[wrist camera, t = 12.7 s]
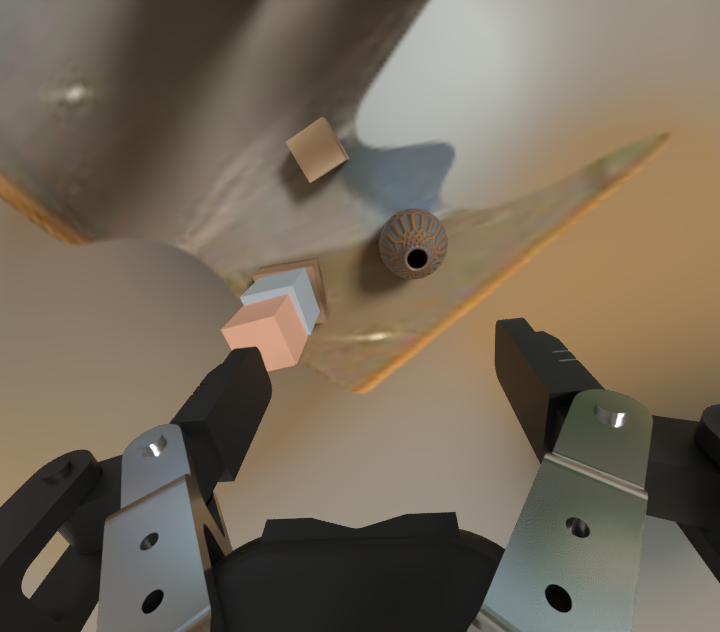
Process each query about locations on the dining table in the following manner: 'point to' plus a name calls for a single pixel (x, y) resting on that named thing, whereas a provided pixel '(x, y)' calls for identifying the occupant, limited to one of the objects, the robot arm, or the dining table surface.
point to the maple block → (317, 149)
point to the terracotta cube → (269, 331)
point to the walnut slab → (314, 278)
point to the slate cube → (284, 284)
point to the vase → (413, 244)
